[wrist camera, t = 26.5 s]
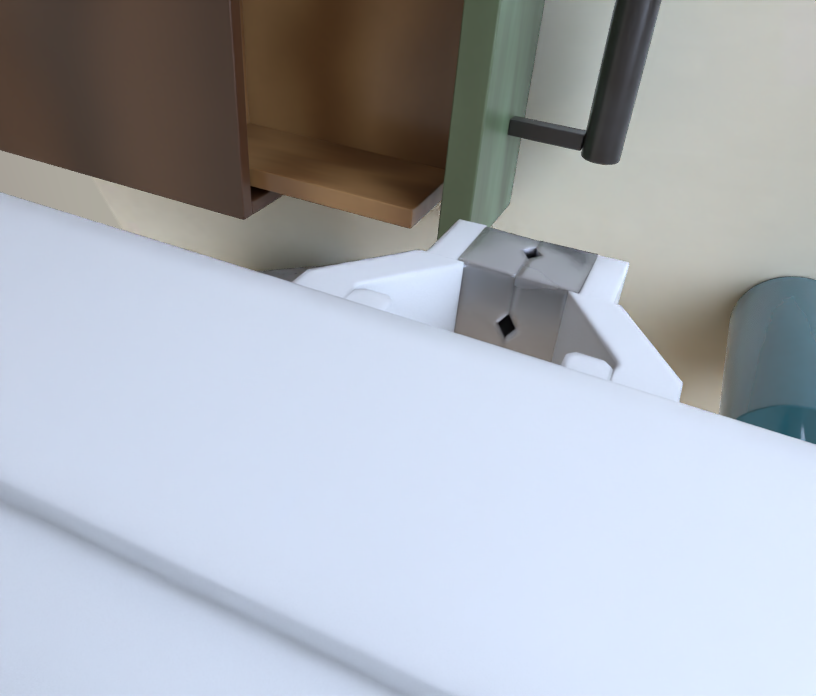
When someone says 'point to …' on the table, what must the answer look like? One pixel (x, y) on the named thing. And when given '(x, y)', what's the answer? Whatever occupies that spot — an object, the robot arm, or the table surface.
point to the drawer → (416, 101)
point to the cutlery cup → (773, 358)
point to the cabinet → (132, 95)
